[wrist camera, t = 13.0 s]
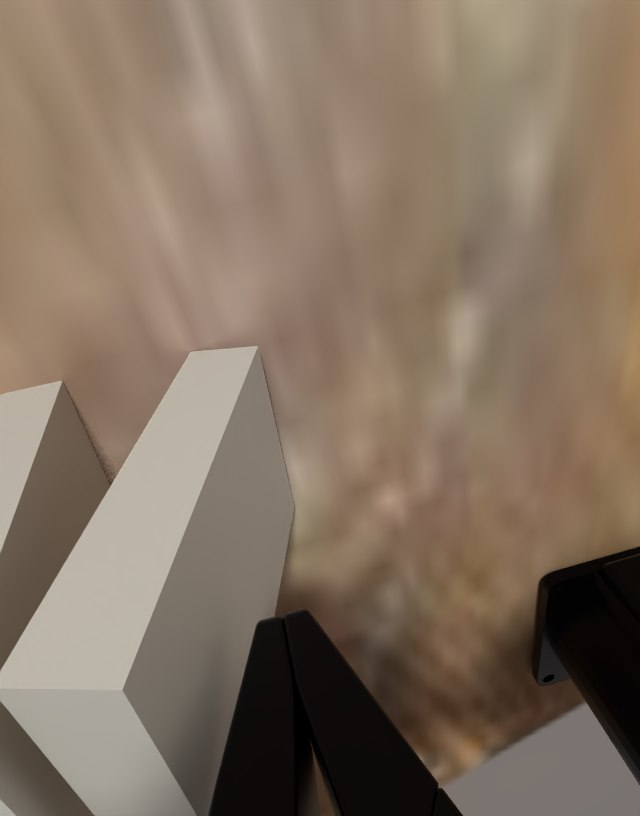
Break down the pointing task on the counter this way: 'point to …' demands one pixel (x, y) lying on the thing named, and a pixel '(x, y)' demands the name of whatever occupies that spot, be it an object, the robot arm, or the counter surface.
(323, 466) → the counter surface
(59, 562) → the domino
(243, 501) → the domino
